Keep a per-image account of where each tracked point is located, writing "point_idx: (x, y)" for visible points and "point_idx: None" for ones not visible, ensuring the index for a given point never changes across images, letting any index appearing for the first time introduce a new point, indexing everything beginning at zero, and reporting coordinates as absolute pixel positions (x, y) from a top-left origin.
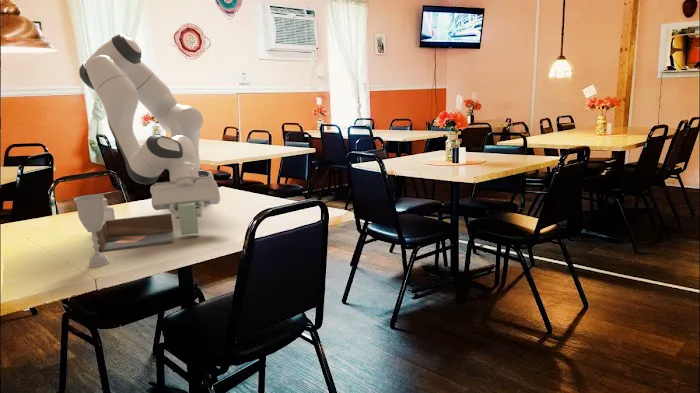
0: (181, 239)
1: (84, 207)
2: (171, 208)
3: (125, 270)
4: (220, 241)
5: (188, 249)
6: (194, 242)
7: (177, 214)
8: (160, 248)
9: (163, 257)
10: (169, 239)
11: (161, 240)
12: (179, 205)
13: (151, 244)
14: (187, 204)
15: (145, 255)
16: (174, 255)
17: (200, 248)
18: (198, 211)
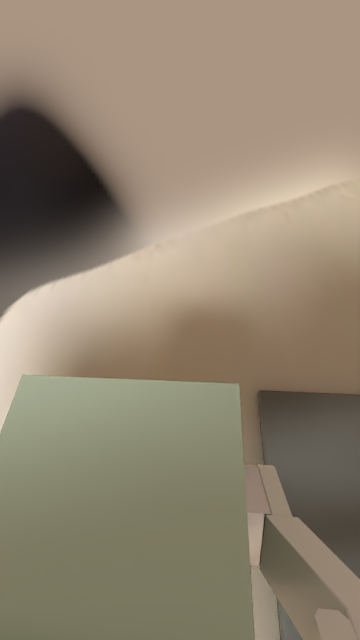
0: None
1: None
2: (351, 581)
3: (346, 188)
4: (63, 327)
5: (187, 282)
6: (158, 360)
7: (245, 479)
8: (296, 336)
9: (263, 240)
10: (277, 437)
11: (320, 437)
12: (220, 422)
13: (357, 395)
14: (108, 430)
15: (333, 277)
16: (231, 245)
17: (148, 277)
18: None
